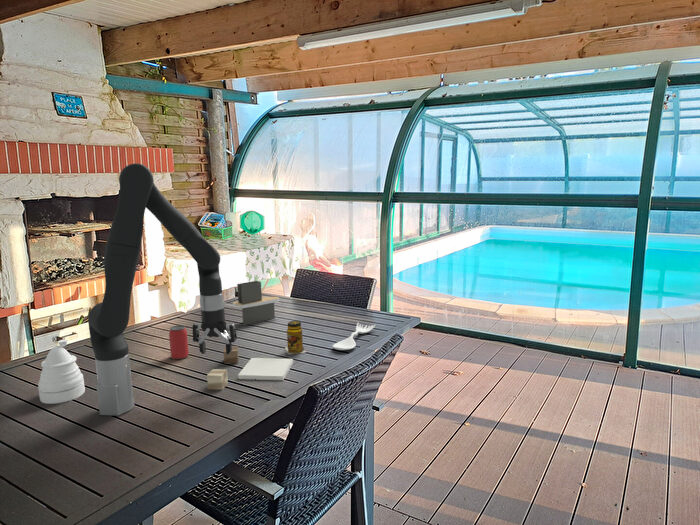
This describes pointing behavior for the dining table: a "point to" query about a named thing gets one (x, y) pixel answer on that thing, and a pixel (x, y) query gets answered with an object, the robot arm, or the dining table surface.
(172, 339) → the beer can
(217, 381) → the birch cube
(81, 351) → the dining table surface
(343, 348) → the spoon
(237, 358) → the walnut cube
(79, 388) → the honey pot
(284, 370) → the stone board
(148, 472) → the dining table surface
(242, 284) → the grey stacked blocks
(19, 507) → the dining table surface
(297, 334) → the condiment
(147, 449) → the dining table surface
